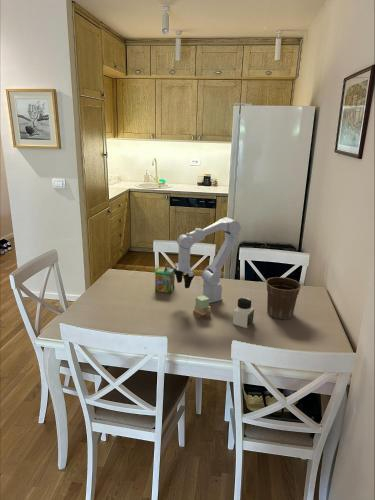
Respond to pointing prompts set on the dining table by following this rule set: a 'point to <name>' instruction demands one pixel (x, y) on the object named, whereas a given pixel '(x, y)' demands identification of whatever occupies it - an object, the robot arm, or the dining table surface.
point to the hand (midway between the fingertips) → (183, 285)
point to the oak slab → (202, 310)
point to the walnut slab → (201, 315)
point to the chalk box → (164, 279)
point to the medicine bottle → (243, 313)
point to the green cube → (202, 302)
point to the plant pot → (281, 297)
